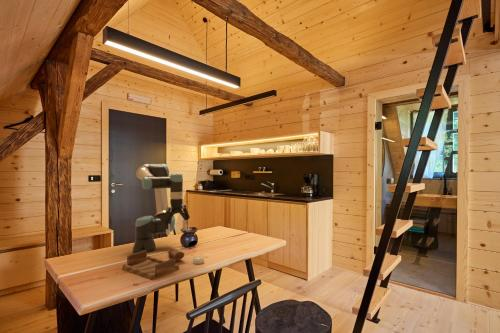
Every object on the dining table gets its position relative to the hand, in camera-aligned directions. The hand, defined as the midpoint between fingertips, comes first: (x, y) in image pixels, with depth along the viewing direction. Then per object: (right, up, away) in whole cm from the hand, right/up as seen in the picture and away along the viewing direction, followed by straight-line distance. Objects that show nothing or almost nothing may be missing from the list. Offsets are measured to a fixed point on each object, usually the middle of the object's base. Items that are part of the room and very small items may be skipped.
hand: (176, 232), depth 168 cm
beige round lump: (+15, -18, -5) cm, 23 cm away
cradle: (-11, -18, -16) cm, 26 cm away
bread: (0, -19, 0) cm, 19 cm away
